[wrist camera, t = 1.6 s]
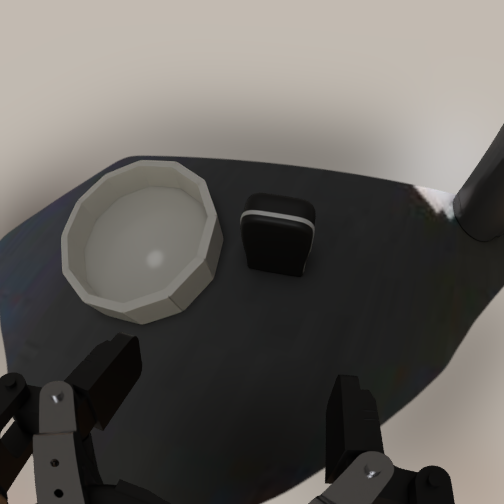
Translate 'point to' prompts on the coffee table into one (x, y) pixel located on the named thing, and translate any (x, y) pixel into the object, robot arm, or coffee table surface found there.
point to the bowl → (142, 241)
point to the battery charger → (277, 233)
